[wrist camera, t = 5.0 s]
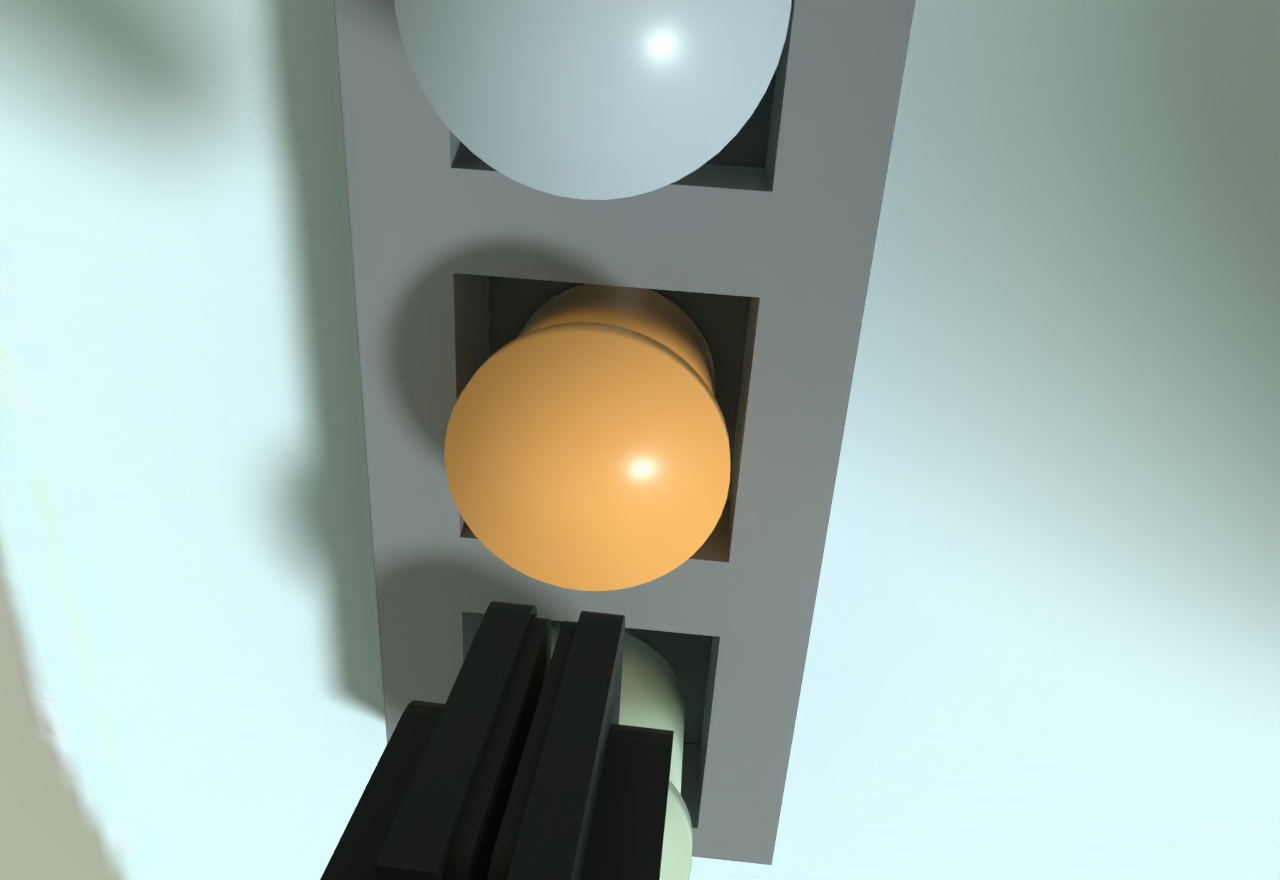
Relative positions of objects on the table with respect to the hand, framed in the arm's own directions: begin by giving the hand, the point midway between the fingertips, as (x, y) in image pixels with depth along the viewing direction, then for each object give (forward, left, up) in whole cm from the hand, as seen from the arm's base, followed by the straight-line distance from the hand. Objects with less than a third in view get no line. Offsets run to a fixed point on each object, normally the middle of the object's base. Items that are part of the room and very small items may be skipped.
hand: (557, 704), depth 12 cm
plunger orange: (0, 0, -11) cm, 11 cm away
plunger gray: (0, -8, -9) cm, 12 cm away
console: (0, 0, -11) cm, 11 cm away
